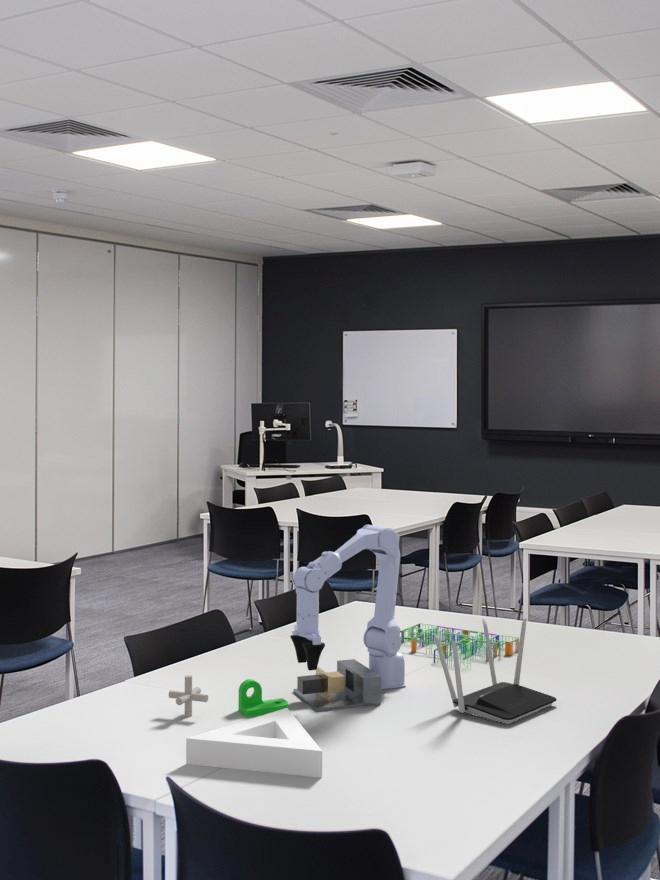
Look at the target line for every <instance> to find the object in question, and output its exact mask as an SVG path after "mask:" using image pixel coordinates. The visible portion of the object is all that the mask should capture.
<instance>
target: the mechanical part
mask: <svg viewBox="0 0 660 880" xmlns="http://www.w3.org/2000/svg"><path fill="white" fill-rule="evenodd" d="M251 688H253V692H252V694H251V695H249V696H248V695H247V692H248V690H249V689H251ZM262 688H263V687H262V686H261V684H260V682H257V680H255V679H252V678H248V679H245V680H244V681H243V682H241V683H240V685H239V687H238V712H240V713H241V714H242V715H243V716H245V717H246V718H251V717H252V718H254V717H258V716H262V715H265V714H268V713H272V712H275V711H278V710H282V709H285V708H288V709H289V701H288V700H286V699H285V698H284V697H281V698H274V699H265V700H263V689H262Z"/></svg>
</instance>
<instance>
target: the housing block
mask: <svg viewBox="0 0 660 880" xmlns="http://www.w3.org/2000/svg"><path fill="white" fill-rule="evenodd" d="M336 662H337V663H336V671H338V672H339V673H341V674H342V675H343V676H345V689H344V692H335V693H331V699H329V700H328V699H326V698H325V697H324V696H323V695H321V694H320V693H313V694H304V695H303V694H301V693H300V692H299V691H298V690H297V688H293V693H294V694H295V695H296V696H298V698H300V699H301V700H303V702H305V703H306V704H307V705H308V706H310V707H311V708H312V709H313V710H314V711H316V712H318V713H321V712H329V711H336V710H337V711H338V710H346V709H355V708H362V707H363V708H365V707H373V705H374V706H380V705H379V704H381V705H382V689H381V676H380V675H378V674H377V673H375V672H374V671H372V670H370V669H369V667H367V666H366V665H364V664H362V663H361V662H359V661H358V660H356V659H355V658H352V659H343V660H336ZM364 706H365V707H364Z"/></svg>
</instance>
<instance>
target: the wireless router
mask: <svg viewBox="0 0 660 880" xmlns="http://www.w3.org/2000/svg"><path fill="white" fill-rule="evenodd" d="M527 620H528V618H523V620H522V622H521V629H520V635H519V648H518V651H517V656H516V657H517V658H516V663H515V671H514V679H513V683H510V682H507V681H505V682H504V681H502V682H501V681H500V682H498V681H497V675H496V670H495V668H496V667H495V662H493V650H492V649H491V648H492V647H491V645H492V644H491V645H490V637H489V636H490V635H489V629H488V623H487V622H486V619H484V618H483V619H482V620H481V621H482V626H483V627H482V628H483V633H485V641H486V643H485V647H487V652H488V659H489V660H488V665H489V672H490V677H491V683H492V685H490V686H487V687H485V688H482V689H478V690H476V691H474V692H471V693H468V694H465V695H464V693H463V692H464V691H463V683H462V676H461V669H460V665H459V664H460V658H459V654H458V653H459V651H458V644H456V642H457V641H456V640H455V641H454V640H452V645H451V649H453V650H452V652H453V653H452V659H453V667H454V677H455V683H456V690H455V687H454V684H453V680H452V678H451V674H450V671H449V666H447V664H446V663H447V659H446V657H444V654H443V650H442V647H441V646H442V645H441V644H440V643H441V639H440V640H439V637H438V633H437V634H436V633H435V632H434V633H432V636H433V635H434V642H436V644H435V645H436V648H437V649H438V651H437V653H438V655H439V656H438V657H440V659H439V660H440V664H441V666H442V669H443V672H444V677H445V680H446V683H447V687H448V691H449V694H450V698H451V700H452V705H453V707H454V708H456V707H458V712H459V713H461V714H463V713H464V712H466V713H470V714H474V715H477V716H481V717H484V718H483V719H485V718H487V719H486V720H489V719H491V720H490V721H493V720H494V721H493V722H496V721H498V722H497V723H500V722H502V723H501V724H504V723H505V724H504V725H510V724H512V722H513V723H515V722H517V721H520V720H522V719H524V718H526V717H525V716H527V717H528V715H529V716H531V715H533V714H532V713H534V712H536V711H538V712H540V711H539V710H541V709H543V708H545V709H547V708H546V707H548V706H550V705H551V706H552V705H553V703H555V702H556V701H557V698H556V697H554V696H553V695H549V694H548V693H547V694H546V693H544V692H541V691H537V690H534V689H532V688H529V687H525V686H523V685H520V679H521V671H522V663H523V655H524V654H523V653H524V645H525V637H526V629H527ZM445 659H446V660H445ZM551 706H550V707H551ZM548 708H549V707H548ZM543 710H544V709H543ZM541 711H542V710H541ZM466 713H464V714H466ZM536 713H537V712H536ZM470 714H469V715H470ZM530 714H531V715H530ZM534 714H535V713H534ZM474 715H473V716H474ZM477 716H476V717H477ZM481 717H480V718H481ZM523 717H524V718H523ZM521 718H522V719H521ZM519 719H520V720H519ZM514 721H515V722H514Z"/></svg>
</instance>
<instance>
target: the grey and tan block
mask: <svg viewBox="0 0 660 880" xmlns="http://www.w3.org/2000/svg"><path fill="white" fill-rule="evenodd" d="M296 678H297V683H296V684H297V685H296V686H297V687H296V689H297V690H298V691H299V692H300V693H301V694H303V695H304V694H313V693H320V694H321V695H323V696H324V697H325V698H326V699H328V700H329V699H331V693H335V692H344V689H345V676H343V675H342V674H341V673H339V672H338V671H337V670H336V671H327V672H326V671H324V670H323V669H322V668H320V667H319V666H317V670H315V674H311V675H301V676H297V677H296Z"/></svg>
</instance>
